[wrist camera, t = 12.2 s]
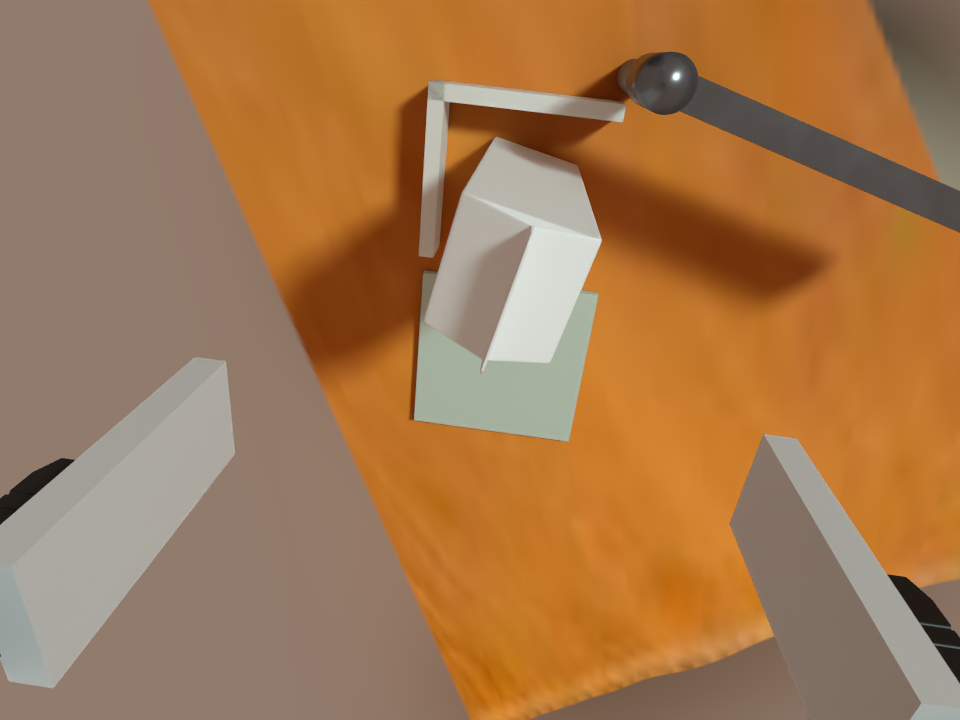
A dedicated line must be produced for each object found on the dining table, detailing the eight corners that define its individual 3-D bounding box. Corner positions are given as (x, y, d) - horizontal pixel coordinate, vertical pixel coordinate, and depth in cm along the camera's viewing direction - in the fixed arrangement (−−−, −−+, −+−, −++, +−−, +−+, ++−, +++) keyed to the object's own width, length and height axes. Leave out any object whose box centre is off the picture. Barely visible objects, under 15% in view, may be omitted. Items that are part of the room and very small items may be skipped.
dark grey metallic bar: (617, 95, 32) (629, 101, 28) (640, 44, 31) (656, 42, 27) (987, 255, 34) (1053, 285, 30) (1022, 213, 33) (1096, 237, 29)
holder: (439, 36, 38) (419, 32, 32) (652, 60, 38) (673, 61, 32) (426, 244, 44) (408, 273, 38) (609, 267, 44) (620, 300, 38)
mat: (424, 270, 45) (423, 272, 45) (597, 292, 45) (598, 295, 44) (415, 416, 51) (414, 420, 51) (568, 437, 51) (568, 441, 50)
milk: (469, 219, 43) (403, 354, 24) (495, 134, 41) (445, 207, 21) (549, 246, 44) (549, 402, 24) (580, 164, 41) (610, 263, 21)
